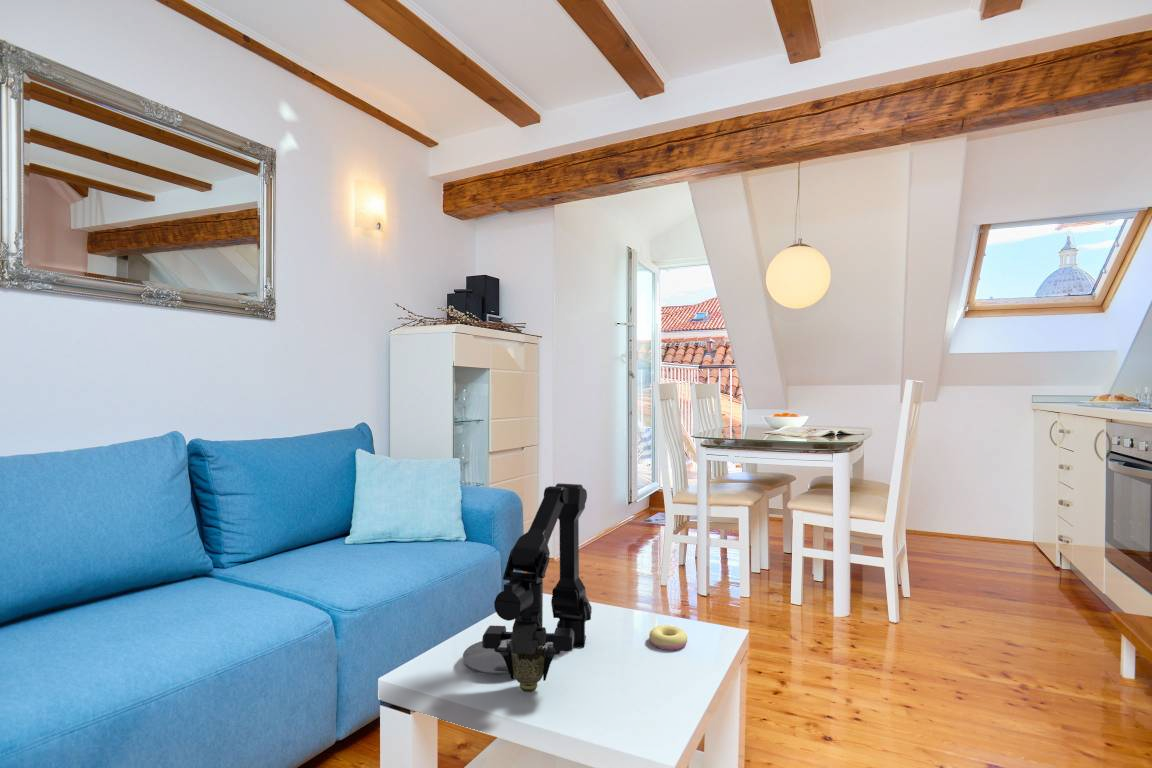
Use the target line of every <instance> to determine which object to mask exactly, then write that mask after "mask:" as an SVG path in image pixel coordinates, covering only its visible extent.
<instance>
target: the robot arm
mask: <svg viewBox="0 0 1152 768" xmlns="http://www.w3.org/2000/svg"><path fill="white" fill-rule="evenodd" d="M587 498H588V492H587V489H586V488H584V487H583V485H582V484H576V483H556V484H555V486H553V485H552V486H550V485H549V486H546V487H545V489H544V491H543V497H542V501H540V502H541V503H540V504H539V507H538V509H537V511H536V513H535V516H534V518H533V521H532V522H531V525H530V527H529V529H528V531H527V532H525V533H524V534H522V535H520V536H519V538H518V539H517V541H516V542H515V544H514V545H513V548H511V550H510V553H509V555H508V560H507V563H506V566H505V569H504V573H503V577H502V579H503V581H509V582H506V583H504V584H503V590H502V591H500V592H499V593H498V594H497V595H496V597H495V599H494V602H493V603H494V605H493V606H494V611H495V613H496V614H497V616H498V617H499V618H500V619H502V620H504V621H506V622H507V621H514V622H513V626H512V631H507V626H506V625H489V626H488V627H487V628H486V630H485V631H484V633H483V635H482V637H481V638H482V639H481V641H482V647H483V648H487V649H494V650H495V652H498V653H500V654H501V655H502V656H503V658H504V660H505V662H506V665H507V668H508V671H509V674H508V675H509V677H510V679H511V680H514V679H515V677H514V673H513V667H512V658H511V652H512V653H514V654H519V653H524V654H529V655H531V654H534V653H535V651H536V647H537V648H540V647H541V646H542V647H545V646H546V645H547V646H546V654H545V665H544V673H543V676H542V678H543V679H542V680H543V681H544V682H546V680H547V676H548V673H549V669H550V666H551V664H552V661H553V659H554V657H555V655H560V654H561V652H572V651H573V648H584V647H585V646H586V640H587V635H586V622H587V621H591V620H592V609H593V607H592V605H591V603H590V600H589V599H588V597H587V595H586V592H587V591H586V587H585V586H586V585H584V583H583V582H582V580H581V578H580V570H579V569H580V568H579V567H580V566H579V565H580V563H579V562H580V556H579V555H580V554H579V552H580V551H579V550H580V549H579V546H580V545H579V544H580V543H579V535H580V534H579V533H580V531H579V530H580V529H579V525H580V524H579V519H580V517H581V516H582V513H583V512H584V510H585V508H586V503H587V501H588V500H587ZM557 522H559V524H558V525H559V580H558V582H557V583H556V585H555V586H554V587H553V589H552V590H551V593H552V595H551V596H552V597H551V601H550V603H551V605H550V606H551V611H552V616H553V618H554V619H558V621H557V622H556V623H557V624H556V627H555V628H554V629H555V630H554V632H552V633H551V632H550V633H549V632H547V630H546V627H543V621H544V620H543V613H544V611H543V607H544V606H543V603H544V602H543V601H544V600H543V595H544V594H543V591H544V587H543V586H544V585H543V584H544V582H543V581H544V580H543V579H544V578H545V577H546V572H547V569H548V566H549V563H550V560H551V559H550V549H549V545H548V544H549V541H550V540H551V536H552V534H553V532H554V529H555V527H556V524H557ZM514 570H515V571H514Z"/></svg>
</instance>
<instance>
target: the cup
mask: <svg viewBox="0 0 1152 768" xmlns="http://www.w3.org/2000/svg"><path fill="white" fill-rule="evenodd" d="M546 649H547V647H543V646H540V648H537V647H536V651H535V653H534V654H531V655H529V654H524V653H519V654H514V653H512V652H511V658H512V667H513V673H514V679H515V681H517V682H518V683H519V688H520V690H521V691H522V692H525V693H533V692H534V691H536V690H537V687H538V683H539V682H540V681H541V680H542V678H543V673H544V665H545V654H546Z"/></svg>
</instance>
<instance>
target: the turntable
mask: <svg viewBox="0 0 1152 768" xmlns="http://www.w3.org/2000/svg"><path fill="white" fill-rule="evenodd" d="M462 663H463V664H464V666H465V667H466V668H467V669H469V670H470V671H473V672H475V673H479V674H483V675H490V676H499V675H500V676H501V675H502V676H503V675H504V676H505V675H510V674H509V671H508V668H507V665H506V662H505V660H504V658H503V656H502V655H501V654H500V653H498V652H495V650H494V649H487V648H483V647H482V640H481V641H478V642H476V643H474V644H471V645H470V646H468V647H467V648H465V650H464V651H463V653H462Z"/></svg>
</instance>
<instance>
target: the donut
mask: <svg viewBox="0 0 1152 768" xmlns="http://www.w3.org/2000/svg"><path fill="white" fill-rule="evenodd" d="M687 635H688V634H687V633H686V632H685V630H683V629H682V628H680V627H678V626H676V625H675V626H674V625H669V624H668V625H667V624H664V625H663V624H662V625H657V626H655V627H653V628H652V629H651V630H650V632H649V634H648V639H649V641H650V642H651V644H652V645H654V646H655V647H656V646H657V648H658V647H659V649H661V648H663V650H666V649H676V650H681V649H682V648H684V647H685V646H686V645H687V643H688V636H687Z"/></svg>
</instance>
